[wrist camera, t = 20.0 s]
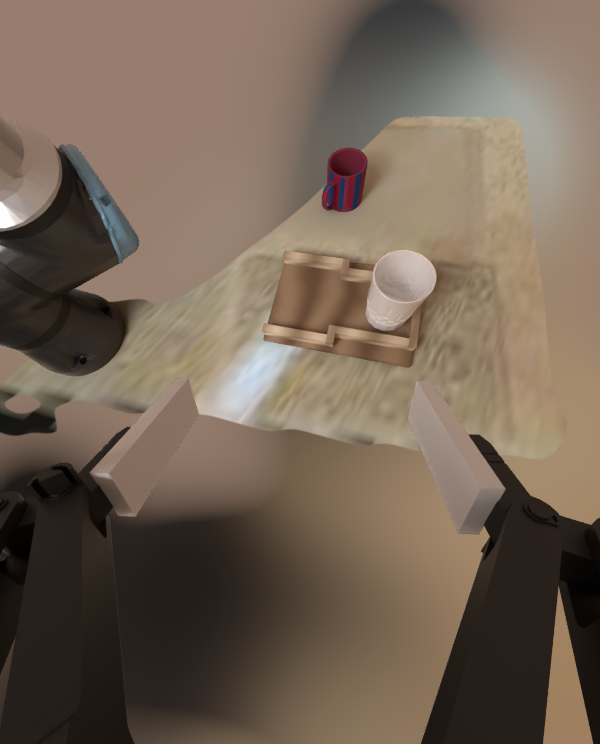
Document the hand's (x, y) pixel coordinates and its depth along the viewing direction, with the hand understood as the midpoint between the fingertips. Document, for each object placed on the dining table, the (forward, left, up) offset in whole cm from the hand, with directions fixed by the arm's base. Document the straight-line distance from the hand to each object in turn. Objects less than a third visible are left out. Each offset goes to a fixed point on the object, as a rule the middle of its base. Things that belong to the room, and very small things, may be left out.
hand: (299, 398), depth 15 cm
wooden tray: (+1, +20, -25) cm, 33 cm away
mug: (-4, +42, -26) cm, 50 cm away
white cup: (+8, +20, -25) cm, 33 cm away
